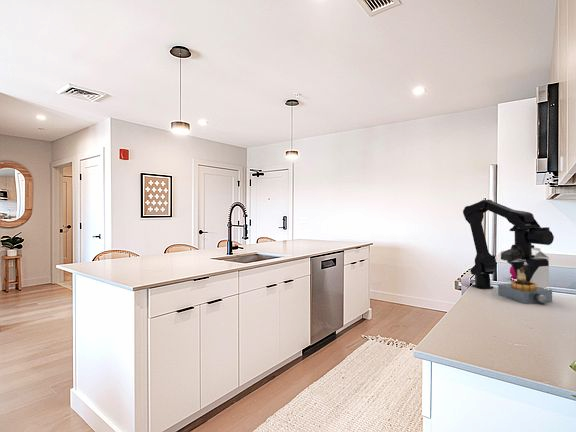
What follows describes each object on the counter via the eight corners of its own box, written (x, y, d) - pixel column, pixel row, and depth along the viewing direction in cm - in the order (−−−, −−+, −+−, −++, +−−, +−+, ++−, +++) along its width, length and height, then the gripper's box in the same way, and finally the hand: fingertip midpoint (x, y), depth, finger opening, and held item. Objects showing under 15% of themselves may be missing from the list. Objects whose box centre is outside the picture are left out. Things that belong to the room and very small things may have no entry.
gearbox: (498, 294, 143) (498, 280, 143) (523, 292, 144) (523, 278, 144) (530, 306, 126) (530, 289, 126) (559, 304, 127) (558, 288, 127)
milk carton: (538, 286, 153) (538, 246, 153) (549, 290, 146) (548, 248, 146) (522, 287, 154) (521, 246, 153) (532, 290, 147) (531, 248, 146)
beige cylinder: (514, 282, 139) (514, 266, 138) (524, 282, 139) (524, 266, 139) (522, 285, 134) (522, 268, 134) (532, 284, 135) (532, 268, 134)
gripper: (489, 241, 145) (489, 276, 145) (522, 246, 126) (523, 286, 127) (512, 239, 146) (513, 274, 146) (549, 244, 127) (550, 284, 127)
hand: (523, 279), depth 136 cm, fingers closed on beige cylinder, 4 cm apart
